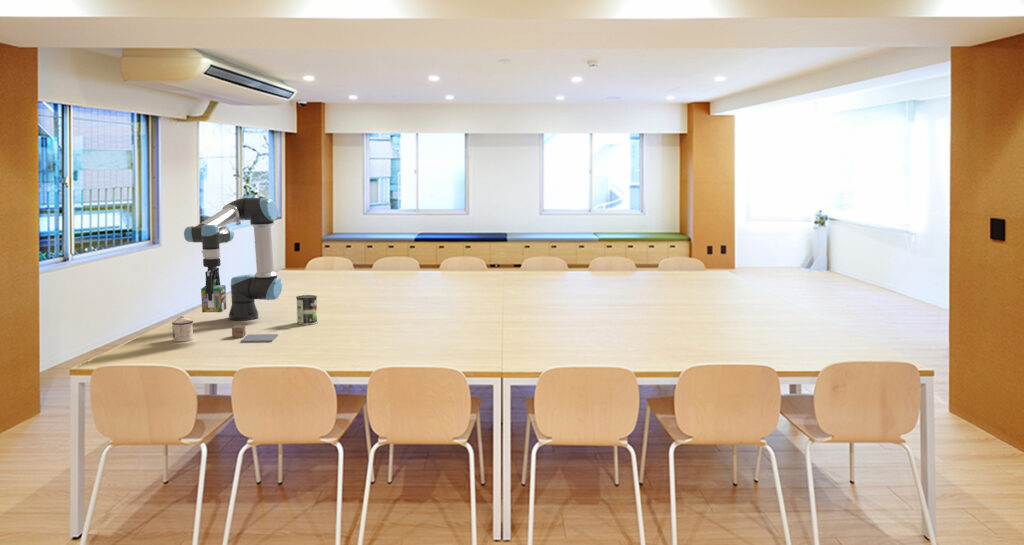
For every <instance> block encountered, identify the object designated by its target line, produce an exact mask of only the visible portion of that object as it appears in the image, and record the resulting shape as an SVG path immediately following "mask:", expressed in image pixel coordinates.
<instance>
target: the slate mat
mask: <svg viewBox="0 0 1024 545" xmlns="http://www.w3.org/2000/svg"><path fill="white" fill-rule="evenodd" d="M278 336H279V334H278V333H273V334H272V333H265V334H263V333H262V334H261V333H259V334H257V333H256V334H255V333H254V334H252V333H251V334H247V335H246V336H245V337H243V338H241V340H240V343H272V342H273V341H275V340H276V339H277V337H278Z"/></svg>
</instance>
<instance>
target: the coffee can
mask: <svg viewBox="0 0 1024 545" xmlns="http://www.w3.org/2000/svg"><path fill="white" fill-rule="evenodd" d="M295 298H296V317H297V318H296V321H297V323H298V325H300V324H302V326H303V325H304V326H309V325H308V324H312V325H315V323H316V324H318V305H317V304H318V303H317V302H318V300H317V299H318V296H317V295H313V294H305V295H304V294H303V295H302V294H301V295H298V296H296V297H295Z"/></svg>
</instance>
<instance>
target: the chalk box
mask: <svg viewBox="0 0 1024 545" xmlns="http://www.w3.org/2000/svg"><path fill="white" fill-rule="evenodd" d="M214 282H215V284H216V279H215V280H214ZM215 284H214V285H213V293H214V307H213V308H208V299H207V294H205V292H206V285H204V286H203V287H201V289H200V294H201V295H200V296H201V312H202V314H203V313H222V312H223V311H225V310H226V309H227V292H226V290H227V289H226V285H225V284H223V285H221V284H220V285H215Z"/></svg>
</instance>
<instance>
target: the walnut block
mask: <svg viewBox="0 0 1024 545" xmlns="http://www.w3.org/2000/svg"><path fill="white" fill-rule="evenodd" d="M246 332H247V331H246V325H234V326H232V327H231V338H232V337H243V338H245V337H246V336H247V335H246ZM245 335H246V336H245ZM244 336H245V337H244Z"/></svg>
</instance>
